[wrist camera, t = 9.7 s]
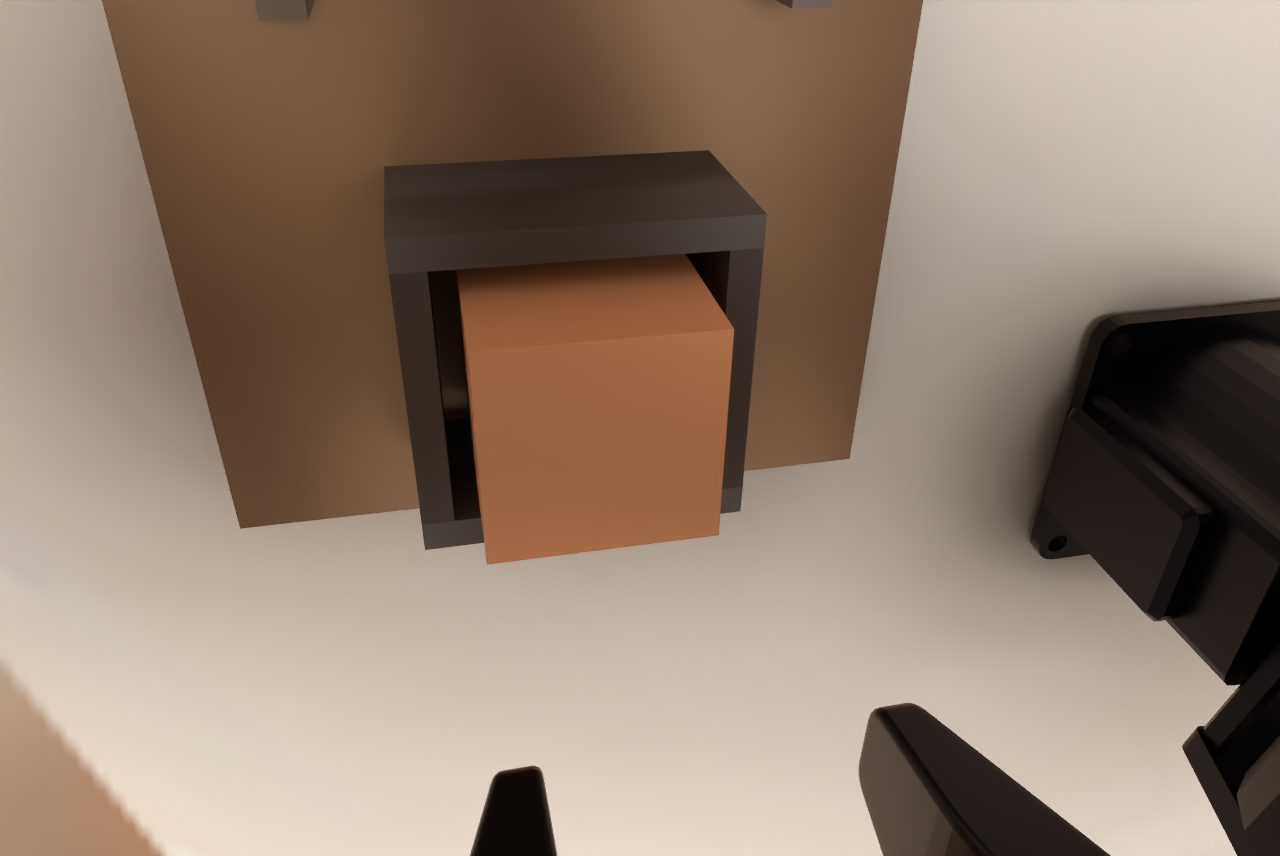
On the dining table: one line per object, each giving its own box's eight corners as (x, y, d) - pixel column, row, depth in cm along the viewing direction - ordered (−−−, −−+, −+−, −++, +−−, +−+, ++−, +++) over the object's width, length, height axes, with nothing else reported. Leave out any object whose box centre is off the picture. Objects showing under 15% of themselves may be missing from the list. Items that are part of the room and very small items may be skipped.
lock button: (677, 241, 15) (733, 328, 13) (670, 427, 17) (718, 535, 14) (454, 256, 14) (467, 352, 12) (472, 448, 16) (487, 564, 14)
